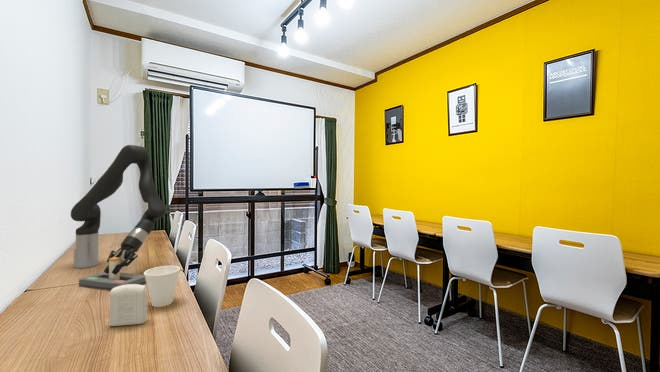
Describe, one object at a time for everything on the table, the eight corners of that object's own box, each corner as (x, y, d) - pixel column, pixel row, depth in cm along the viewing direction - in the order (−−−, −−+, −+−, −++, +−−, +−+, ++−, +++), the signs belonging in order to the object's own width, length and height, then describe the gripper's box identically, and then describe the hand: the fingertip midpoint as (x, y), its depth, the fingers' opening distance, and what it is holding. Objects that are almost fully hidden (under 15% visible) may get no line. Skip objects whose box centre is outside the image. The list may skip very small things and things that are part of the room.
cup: (160, 312, 101) (160, 276, 100) (135, 307, 104) (135, 273, 104) (187, 299, 112) (187, 267, 112) (164, 295, 116) (164, 264, 115)
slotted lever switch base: (79, 286, 125) (79, 278, 124) (106, 277, 136) (106, 270, 136) (123, 292, 118) (123, 284, 118) (148, 282, 130) (148, 275, 130)
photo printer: (149, 318, 96) (149, 281, 96) (144, 324, 92) (144, 285, 92) (114, 321, 94) (113, 283, 94) (107, 328, 90) (106, 288, 90)
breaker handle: (108, 281, 126) (108, 258, 126) (114, 280, 129) (114, 257, 129) (114, 282, 126) (114, 259, 125) (119, 280, 128) (119, 257, 128)
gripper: (117, 234, 136) (90, 267, 124) (142, 236, 132) (116, 270, 121) (128, 243, 141) (103, 276, 130) (152, 245, 138) (128, 278, 126)
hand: (109, 273), depth 125 cm, fingers open, 3 cm apart
